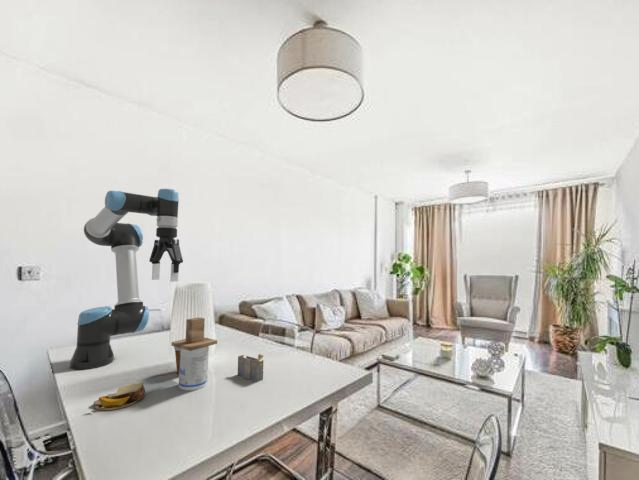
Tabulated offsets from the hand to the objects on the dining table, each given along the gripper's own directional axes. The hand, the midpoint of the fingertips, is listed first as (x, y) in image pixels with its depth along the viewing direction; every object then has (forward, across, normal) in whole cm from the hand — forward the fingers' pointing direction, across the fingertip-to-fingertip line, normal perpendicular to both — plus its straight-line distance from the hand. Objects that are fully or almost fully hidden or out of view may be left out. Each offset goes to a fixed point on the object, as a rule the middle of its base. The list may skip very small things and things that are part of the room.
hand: (164, 280), depth 123 cm
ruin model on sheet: (+37, +30, +19) cm, 52 cm away
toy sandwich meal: (+37, +12, -20) cm, 44 cm away
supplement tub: (+37, +20, +1) cm, 42 cm away
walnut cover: (+22, +20, +1) cm, 30 cm away
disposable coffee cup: (+37, +6, +7) cm, 38 cm away
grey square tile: (+37, +8, -7) cm, 38 cm away
